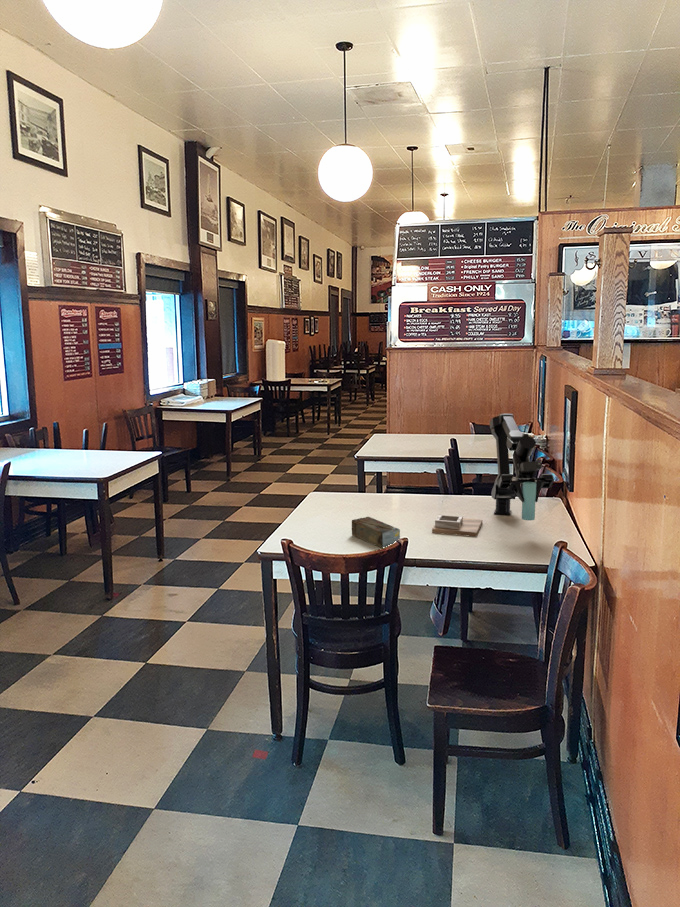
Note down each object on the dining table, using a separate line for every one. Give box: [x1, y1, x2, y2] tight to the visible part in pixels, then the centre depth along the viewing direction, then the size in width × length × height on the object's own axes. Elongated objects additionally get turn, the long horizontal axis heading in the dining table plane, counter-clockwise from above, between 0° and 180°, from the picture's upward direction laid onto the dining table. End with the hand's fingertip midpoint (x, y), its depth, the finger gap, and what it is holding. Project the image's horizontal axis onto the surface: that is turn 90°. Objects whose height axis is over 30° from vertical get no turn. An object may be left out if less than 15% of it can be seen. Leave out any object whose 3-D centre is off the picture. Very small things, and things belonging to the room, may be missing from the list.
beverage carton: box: [351, 516, 401, 549], centre depth 246 cm, size 8×19×7 cm, turn 33°
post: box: [521, 482, 537, 521], centre depth 247 cm, size 4×4×13 cm
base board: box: [431, 514, 483, 537], centre depth 261 cm, size 18×16×4 cm
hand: (529, 501), depth 245 cm, fingers closed on post, 4 cm apart
